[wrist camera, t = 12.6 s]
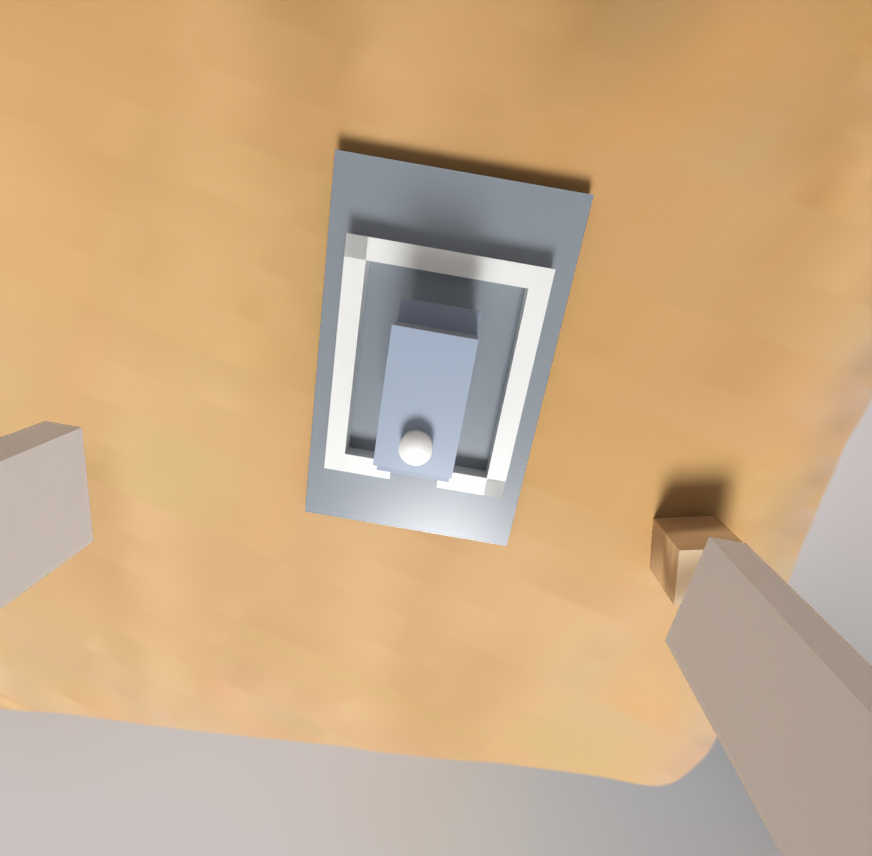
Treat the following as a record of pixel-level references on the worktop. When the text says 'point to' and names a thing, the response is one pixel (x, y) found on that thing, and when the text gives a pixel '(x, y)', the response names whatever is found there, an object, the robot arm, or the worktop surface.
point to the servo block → (426, 389)
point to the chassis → (448, 285)
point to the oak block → (682, 549)
